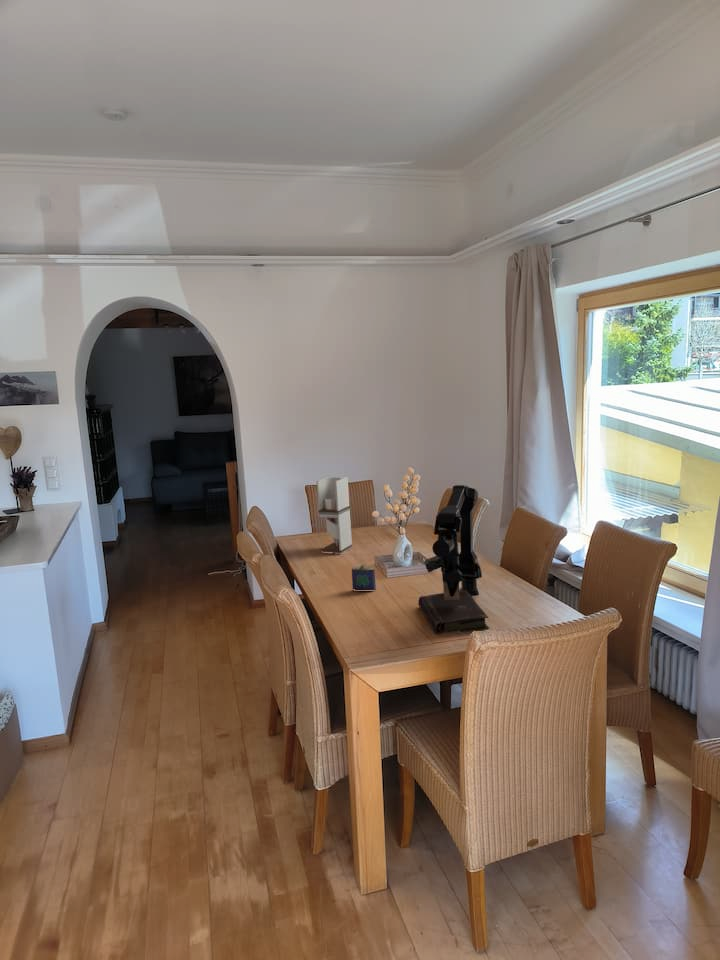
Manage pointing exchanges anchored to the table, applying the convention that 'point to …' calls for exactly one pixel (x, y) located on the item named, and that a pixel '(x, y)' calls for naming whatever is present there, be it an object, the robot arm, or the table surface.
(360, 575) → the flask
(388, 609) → the table surface
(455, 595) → the metal block
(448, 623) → the diary
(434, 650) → the table surface
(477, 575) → the robot arm
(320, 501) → the display case
